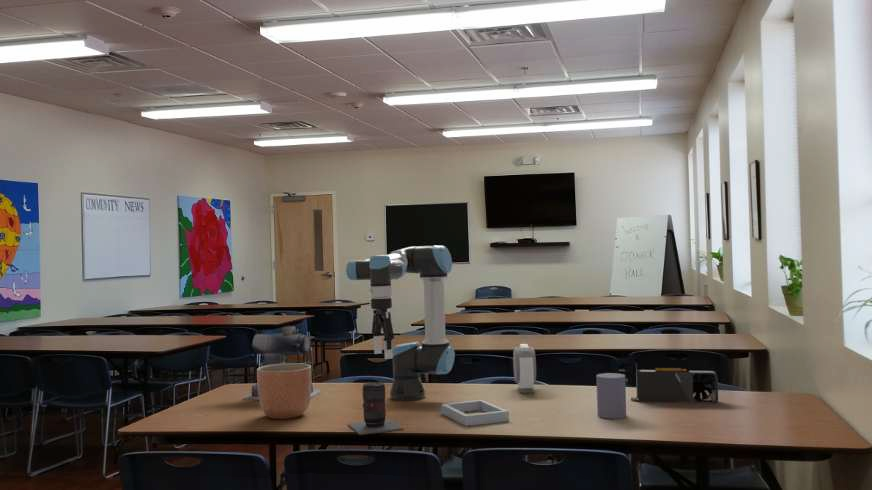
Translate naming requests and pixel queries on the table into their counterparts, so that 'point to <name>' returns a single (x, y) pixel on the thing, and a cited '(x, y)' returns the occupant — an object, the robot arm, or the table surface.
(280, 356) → the grinder
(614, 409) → the container
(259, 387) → the planter
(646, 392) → the graphics card
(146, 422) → the table surface
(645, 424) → the table surface
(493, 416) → the bin
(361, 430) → the mat
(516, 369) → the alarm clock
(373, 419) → the camera lens
